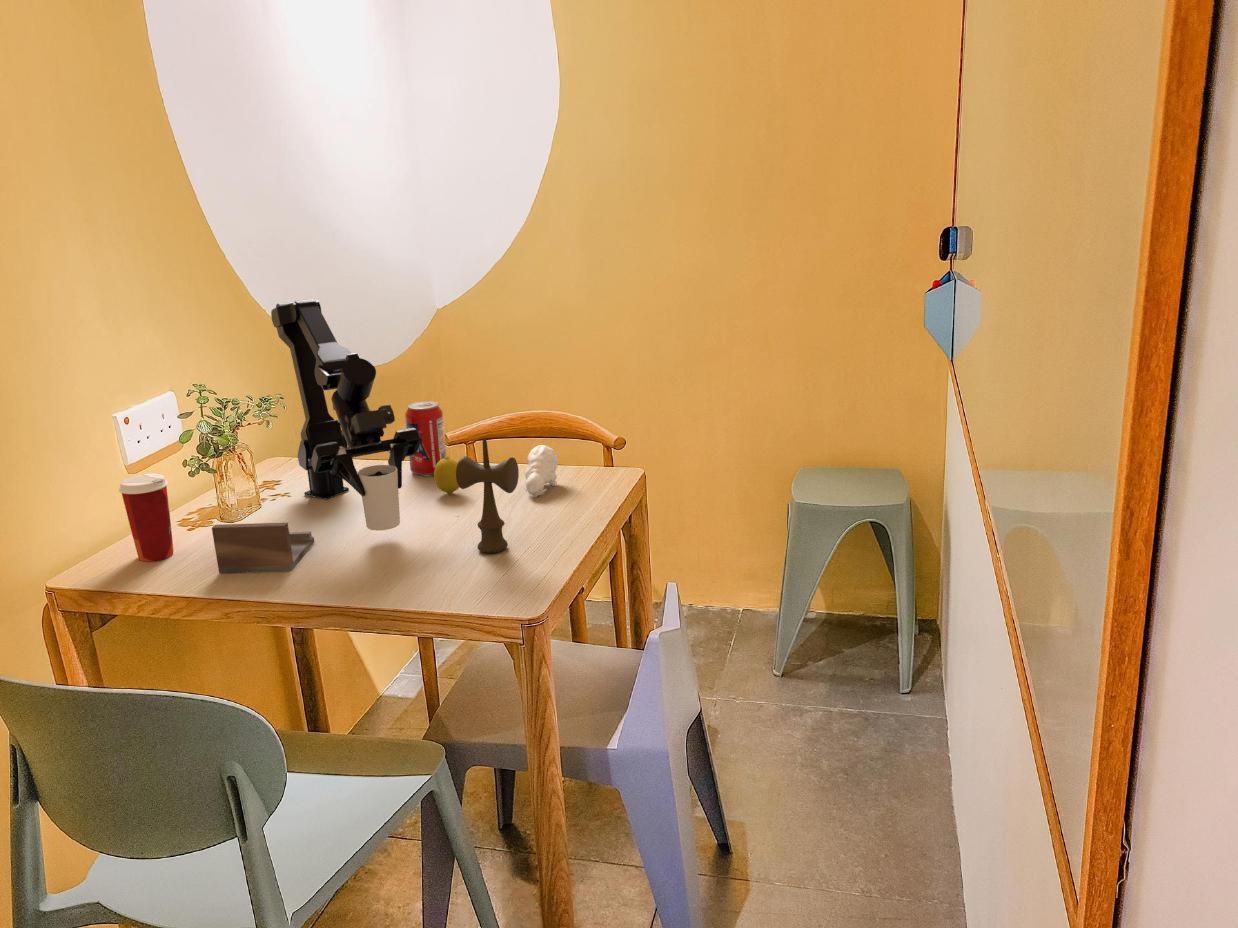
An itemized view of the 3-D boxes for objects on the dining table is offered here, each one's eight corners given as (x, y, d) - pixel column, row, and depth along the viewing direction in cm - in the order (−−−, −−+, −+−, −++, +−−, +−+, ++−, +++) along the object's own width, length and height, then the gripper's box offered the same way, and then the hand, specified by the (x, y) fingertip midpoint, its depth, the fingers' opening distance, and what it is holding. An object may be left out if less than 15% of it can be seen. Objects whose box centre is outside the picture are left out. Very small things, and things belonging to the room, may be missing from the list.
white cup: (357, 523, 177) (351, 470, 174) (392, 515, 181) (387, 462, 178) (373, 534, 172) (367, 479, 169) (409, 525, 176) (403, 470, 173)
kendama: (512, 558, 167) (504, 443, 162) (459, 554, 170) (450, 440, 164) (525, 545, 173) (518, 433, 167) (474, 541, 176) (465, 431, 170)
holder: (247, 544, 178) (240, 501, 176) (314, 542, 178) (308, 499, 176) (219, 573, 166) (211, 527, 163) (291, 571, 165) (284, 525, 163)
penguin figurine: (558, 442, 204) (546, 464, 193) (561, 479, 207) (549, 503, 196) (528, 441, 205) (515, 464, 194) (532, 479, 208) (518, 502, 197)
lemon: (466, 490, 203) (463, 452, 201) (460, 499, 198) (456, 460, 195) (440, 490, 204) (436, 452, 201) (432, 499, 198) (429, 460, 196)
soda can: (450, 474, 214) (444, 406, 209) (413, 479, 211) (407, 410, 207) (444, 465, 221) (438, 398, 216) (408, 469, 218) (401, 402, 214)
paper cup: (189, 549, 176) (176, 474, 172) (157, 566, 169) (143, 487, 165) (154, 545, 179) (140, 471, 175) (121, 561, 172) (106, 484, 168)
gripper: (307, 399, 168) (335, 478, 162) (413, 383, 177) (442, 457, 172) (300, 434, 177) (326, 510, 171) (401, 417, 186) (429, 489, 180)
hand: (382, 491), depth 173 cm, fingers closed on white cup, 6 cm apart
